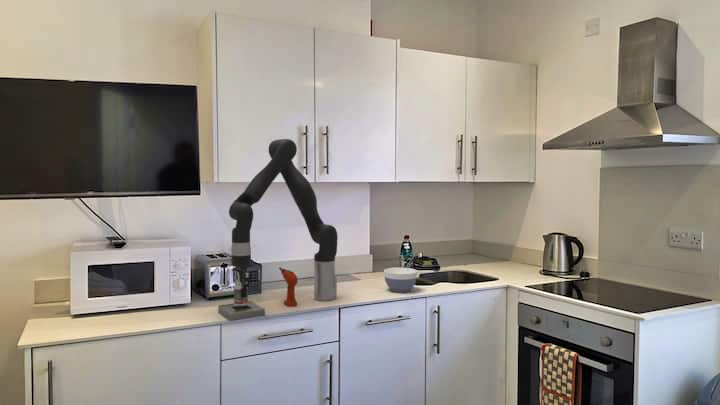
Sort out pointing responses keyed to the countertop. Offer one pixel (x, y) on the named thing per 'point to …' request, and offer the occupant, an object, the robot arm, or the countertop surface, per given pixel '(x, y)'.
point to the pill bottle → (239, 295)
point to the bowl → (400, 279)
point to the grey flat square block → (241, 311)
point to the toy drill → (290, 287)
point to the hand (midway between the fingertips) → (241, 295)
